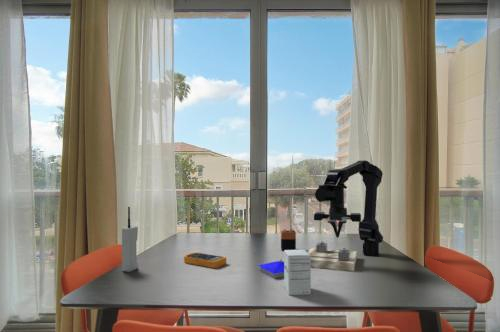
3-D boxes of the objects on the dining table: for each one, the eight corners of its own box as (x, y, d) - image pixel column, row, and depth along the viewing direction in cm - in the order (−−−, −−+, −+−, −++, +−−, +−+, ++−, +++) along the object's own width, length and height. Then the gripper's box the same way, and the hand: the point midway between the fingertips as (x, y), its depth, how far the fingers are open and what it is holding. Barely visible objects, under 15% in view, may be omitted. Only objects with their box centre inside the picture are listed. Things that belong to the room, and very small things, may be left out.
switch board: (356, 258, 152) (356, 251, 152) (353, 271, 133) (353, 263, 133) (311, 254, 158) (311, 247, 158) (302, 266, 140) (302, 258, 140)
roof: (273, 280, 124) (273, 265, 124) (257, 271, 134) (257, 257, 134) (300, 275, 129) (300, 260, 129) (283, 267, 140) (283, 253, 140)
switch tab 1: (327, 250, 154) (327, 241, 154) (325, 252, 149) (325, 243, 149) (318, 249, 155) (318, 240, 155) (316, 251, 150) (316, 243, 150)
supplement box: (283, 287, 115) (283, 249, 115) (305, 286, 116) (305, 249, 116) (288, 295, 108) (287, 255, 108) (311, 294, 109) (311, 254, 109)
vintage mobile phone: (138, 268, 138) (137, 205, 138) (129, 272, 133) (129, 207, 133) (130, 267, 139) (130, 205, 139) (121, 271, 134) (121, 207, 134)
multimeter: (194, 258, 153) (194, 251, 153) (227, 264, 144) (227, 256, 144) (181, 263, 146) (181, 255, 146) (215, 269, 137) (215, 261, 137)
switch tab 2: (349, 257, 141) (349, 248, 141) (348, 260, 136) (348, 251, 136) (339, 256, 142) (339, 247, 142) (338, 259, 137) (338, 250, 137)
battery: (295, 251, 165) (295, 230, 165) (281, 251, 165) (281, 230, 165) (294, 248, 170) (294, 228, 170) (280, 249, 169) (280, 228, 169)
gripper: (311, 201, 139) (312, 240, 139) (359, 202, 133) (360, 243, 133) (315, 198, 150) (316, 234, 150) (360, 199, 143) (361, 237, 144)
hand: (337, 237), depth 144 cm, fingers closed
